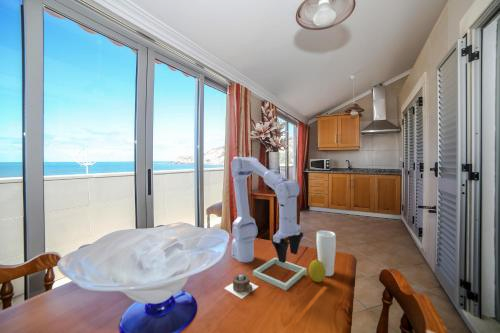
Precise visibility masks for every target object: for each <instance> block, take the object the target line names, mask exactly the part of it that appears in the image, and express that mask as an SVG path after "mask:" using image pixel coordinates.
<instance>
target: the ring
mask: <svg viewBox="0 0 500 333" xmlns="http://www.w3.org/2000/svg"><path fill="white" fill-rule="evenodd" d="M239 275H244V281H239ZM250 282H251V281H250V275H248V274H245V273H238V274H235V275H234V276H233V277H232V283H233V290H234V291H236V292H239V293H240V292H248V293H249V294H251V293H252V292H253V291H252V285H250Z"/></svg>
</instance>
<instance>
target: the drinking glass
mask: <svg viewBox="0 0 500 333" xmlns="http://www.w3.org/2000/svg"><path fill="white" fill-rule="evenodd" d="M315 240H316V250H317V251H316V252H317V260H319V261H321V262H322V263H323V264H324V266H325V271H326V275H325V277H332V276H333V275H334V274H335V259H336V250H337V249H336V248H337V247H336V245H337V244H336V243H337V236H336V233H335V232H333V231H331V230H318V231H316V239H315Z"/></svg>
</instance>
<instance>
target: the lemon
mask: <svg viewBox="0 0 500 333" xmlns="http://www.w3.org/2000/svg"><path fill="white" fill-rule="evenodd" d="M308 275H309V277H310V278H311V280H312V281H313V282H316V283H321V282H323V281H324V280H325V278H326V276H325V275H326V271H325V266H324V264H323V263H322V262H321V261H319V260H318V259H314V260H312V261H311V262H310V263H309V267H308Z"/></svg>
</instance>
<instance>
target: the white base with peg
mask: <svg viewBox="0 0 500 333" xmlns="http://www.w3.org/2000/svg"><path fill="white" fill-rule="evenodd" d="M239 281H244V275H239ZM250 285H252V292H254V291H255V290H256V289H258V288H259V285H256V284H254V283H253V282H251V281H250ZM223 289H224V290H225V291H227V292H229V293H231V294H233V295H235V296H237V297H238V298H239V299H243V298H245V297H247V296H248V295H249V294H250V293H248V292H240V293H239V292H236V291H234V290H233V282H232V283H230V284H229V285H227V286H225V287H224V288H223Z"/></svg>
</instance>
